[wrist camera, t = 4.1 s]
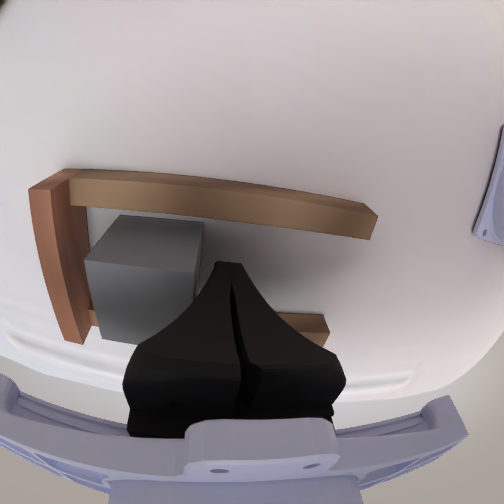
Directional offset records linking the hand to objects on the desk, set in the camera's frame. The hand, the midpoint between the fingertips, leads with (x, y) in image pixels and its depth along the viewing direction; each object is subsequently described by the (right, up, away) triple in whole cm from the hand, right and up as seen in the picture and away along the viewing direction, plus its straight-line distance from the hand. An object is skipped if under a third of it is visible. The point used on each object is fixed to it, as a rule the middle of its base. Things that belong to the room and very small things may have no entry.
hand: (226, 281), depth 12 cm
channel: (-1, +1, +1) cm, 2 cm away
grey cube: (-3, +1, +1) cm, 4 cm away
